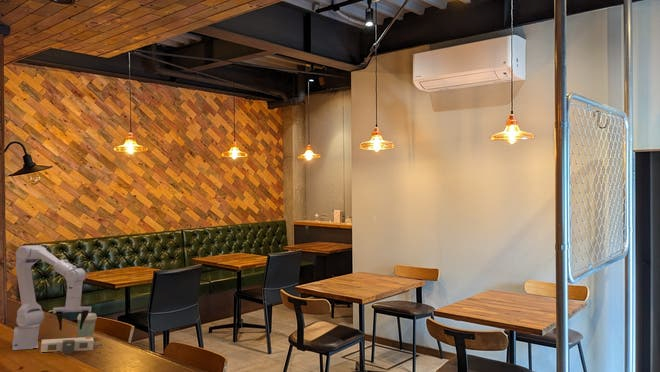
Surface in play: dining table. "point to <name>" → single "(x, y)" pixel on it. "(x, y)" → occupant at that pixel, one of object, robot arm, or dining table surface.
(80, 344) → the power strip
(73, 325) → the dining table surface
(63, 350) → the charger
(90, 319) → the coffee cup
